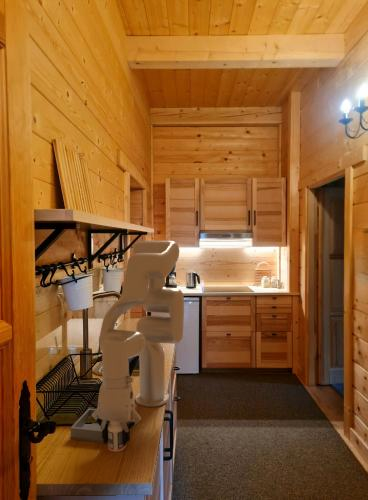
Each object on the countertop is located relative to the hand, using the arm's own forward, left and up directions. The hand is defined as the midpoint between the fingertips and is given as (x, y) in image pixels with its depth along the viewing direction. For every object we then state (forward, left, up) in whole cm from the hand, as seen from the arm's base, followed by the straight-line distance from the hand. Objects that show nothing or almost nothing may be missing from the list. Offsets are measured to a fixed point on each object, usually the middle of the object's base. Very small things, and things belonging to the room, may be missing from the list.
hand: (116, 441), depth 100 cm
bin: (-8, -9, -2) cm, 12 cm away
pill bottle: (-1, 0, -2) cm, 2 cm away
